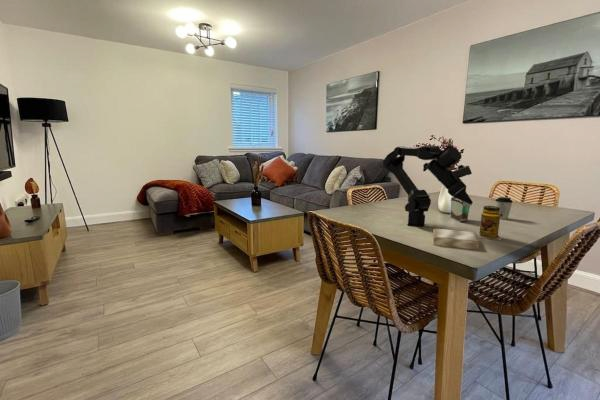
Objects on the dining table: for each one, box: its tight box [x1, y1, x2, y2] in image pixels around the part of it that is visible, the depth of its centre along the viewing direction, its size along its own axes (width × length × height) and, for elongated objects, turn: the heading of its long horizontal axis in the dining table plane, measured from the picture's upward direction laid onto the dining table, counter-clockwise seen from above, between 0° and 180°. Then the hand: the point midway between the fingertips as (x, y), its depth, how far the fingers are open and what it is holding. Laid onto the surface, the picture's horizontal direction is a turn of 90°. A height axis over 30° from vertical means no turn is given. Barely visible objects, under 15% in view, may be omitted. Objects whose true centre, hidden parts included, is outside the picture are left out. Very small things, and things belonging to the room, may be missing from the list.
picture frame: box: [432, 228, 480, 251], centre depth 109 cm, size 14×12×3 cm
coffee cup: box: [495, 196, 513, 221], centre depth 141 cm, size 7×7×10 cm
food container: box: [450, 196, 473, 223], centre depth 139 cm, size 12×6×10 cm, turn 179°
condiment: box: [475, 205, 503, 241], centre depth 115 cm, size 7×8×12 cm
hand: (470, 201), depth 116 cm, fingers open, 9 cm apart
